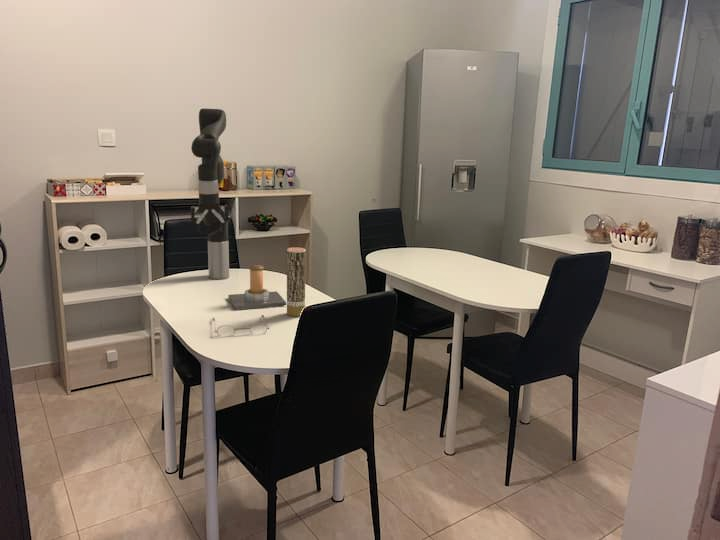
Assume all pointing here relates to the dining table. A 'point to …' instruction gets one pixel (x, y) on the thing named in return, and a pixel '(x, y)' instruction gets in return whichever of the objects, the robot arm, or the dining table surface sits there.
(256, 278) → the capped orange cylinder
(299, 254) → the paper tube
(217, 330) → the eyeglasses
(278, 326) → the dining table surface
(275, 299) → the plate
